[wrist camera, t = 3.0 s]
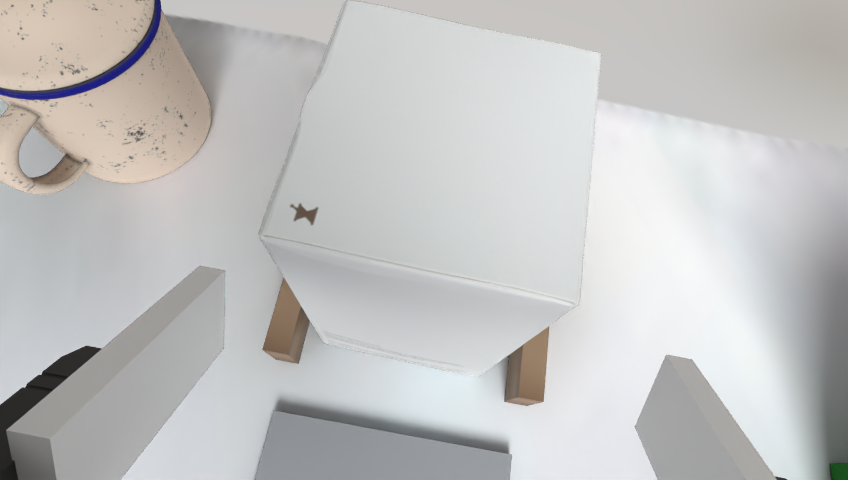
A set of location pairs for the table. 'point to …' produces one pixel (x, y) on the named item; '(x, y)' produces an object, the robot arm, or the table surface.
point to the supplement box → (436, 189)
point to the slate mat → (367, 454)
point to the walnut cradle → (522, 366)
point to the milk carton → (839, 471)
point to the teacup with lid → (97, 91)
